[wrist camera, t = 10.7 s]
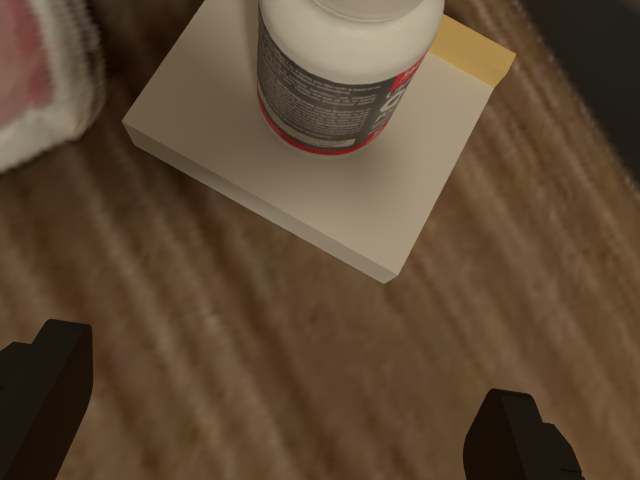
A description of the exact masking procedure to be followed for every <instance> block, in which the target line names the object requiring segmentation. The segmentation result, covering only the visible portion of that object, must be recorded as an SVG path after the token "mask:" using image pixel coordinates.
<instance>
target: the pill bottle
mask: <svg viewBox="0 0 640 480" xmlns="http://www.w3.org/2000/svg"><path fill="white" fill-rule="evenodd" d="M443 10H444V0H258V19H259V23H258V28H259V29H258V48H257V97H258V105H259V109H260V112H261V116H262V118H263V119H264V121H265V123H266V125H267V127H268V128H269V130H270V131H271V132H272V134H273V135H274V136H275V137H276V138H277V139H278V140H279V141H280V142H281V143H282V144H283V145H285V146H286V147H288V148H289V149H291V150H293V151H295V152H296V153H298V154H301V155H304V156H307V157H310V158H315V159H322V160H332V159H340V158H346V157H349V156H352V155H354V154H357V153H359V152H361V151H362V150H364V149H365V148H366V147H368V146H369V145H371V144H372V143H373V142H374V141H375V140H376V139H377V138H378V137H379V135H380V134H381V133H382V131H383V130H384V128H385V126H386V125H387V123H388V122H389V120H390V118H391V117H392V114H393V113H394V111H395V109H396V107H397V105H398V104H399V102H400V100H401V98H402V96H403V94H404V92H405V91H406V89H407V87H408V85H409V84H410V82H411V80H412V78H413V76H414V74H415V73H416V71H417V69H418V68H419V66H420V64H421V62H422V61H423V59H424V57H425V55H426V54H427V52H428V50H429V48H430V47H431V45H432V43H433V41H434V39H435V37H436V34H437V32H438V29H439V27H440V24H441V20H442V17H443Z"/></svg>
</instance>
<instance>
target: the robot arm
mask: <svg viewBox="0 0 640 480" xmlns="http://www.w3.org/2000/svg"><path fill="white" fill-rule="evenodd" d="M92 387H93V347H92V328H91V326H90V325H88V324H81V323H75V322H68V321H62V320H55V319H49V320H47V321H46V322H45V324H44V325H43V327H42V328H41V330H40V331H39V333H38V335H37V336H36V338H35V339H34V341H33V342H32V344H26V343H20V342H12V343H11V344H10V345H8V346H7V347H6V348H4V349H3V350H1V351H0V480H55V479H56V477H57V474H58V472H59V470H60V468H61V466H62V463H63V461H64V459H65V457H66V455H67V452H68V450H69V448H70V446H71V443H72V441H73V439H74V437H75V435H76V432H77V430H78V428H79V426H80V424H81V421H82V419H83V417H84V415H85V412H86V410H87V407H88V404H89V401H90V397H91V393H92ZM463 464H464V470H465V474H466V479H467V480H585V478H584V477H582V475H581V473H582V471H581V468H580V466H579V463H578V461H577V458H576V456H575V453H574V451H573V449H572V447H571V445H570V444H569V443H568V442H567V440H566V439H565V438H564V437H563V435H562V434H561V433H560V432H559V430H558V429H557V428H556V427H555V425H554V424H550V423H544V422H542V419H541V416H540V414H539V411H538V408H537V406H536V403H535V401H534V399H533V397H532V396H531V395H530V394H527V393H521V392H514V391H508V390H501V389H495V388H493V389H491V390H490V391H489V392H488V393H487V395H486V397H485V399H484V401H483V403H482V405H481V407H480V409H479V411H478V413H477V415H476V417H475V419H474V421H473V423H472V425H471V427H470V429H469V431H468V433H467V435H466V438H465V442H464V448H463Z"/></svg>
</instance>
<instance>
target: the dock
mask: <svg viewBox="0 0 640 480" xmlns="http://www.w3.org/2000/svg"><path fill="white" fill-rule="evenodd" d="M258 23H259V19H258V0H205V1H204V2H203V4H202V5H201V7H200V8H199V9H198V11H197V12H196V14H195V15H194V17H193V18H192V20H191V21H190V23H189V24H188V25H187V27H186V28H185V30H184V31H183V33H182V34H181V36H180V37H179V38H178V40H177V41H176V43H175V44H174V46H173V47H172V49H171V50H170V52H169V53H168V54H167V56H166V57H165V59H164V60H163V62H162V63H161V65H160V66H159V67H158V69H157V70H156V72H155V73H154V75H153V76H152V78H151V79H150V80H149V82H148V83H147V85H146V86H145V88H144V89H143V91H142V92H141V94H140V95H139V96H138V98H137V99H136V101H135V102H134V104H133V105H132V107H131V108H130V109H129V111H128V112H127V114H126V115H125V117H124V118H123V120H122V123H123V125H124V127H125V129H126V130H127V132H128V134H129V136H130V138H131V140H132V142H133V143H134V145H135V146H137V147H139V148H141V149H142V150H144V151H146V152H148V153H150V154H151V155H153V156H155V157H157V158H158V159H160V160H162V161H164V162H166V163H167V164H169V165H171V166H173V167H175V168H176V169H178V170H180V171H182V172H184V173H185V174H187V175H189V176H191V177H193V178H194V179H196V180H198V181H200V182H202V183H203V184H205V185H207V186H209V187H211V188H212V189H214V190H216V191H218V192H219V193H221V194H223V195H225V196H227V197H228V198H230V199H232V200H234V201H236V202H237V203H239V204H241V205H243V206H245V207H246V208H248V209H250V210H252V211H254V212H255V213H257V214H259V215H261V216H263V217H264V218H266V219H268V220H270V221H272V222H273V223H275V224H277V225H279V226H280V227H282V228H284V229H286V230H288V231H289V232H291V233H293V234H295V235H297V236H298V237H300V238H302V239H304V240H306V241H307V242H309V243H311V244H313V245H315V246H316V247H318V248H320V249H322V250H324V251H325V252H327V253H329V254H331V255H333V256H334V257H336V258H338V259H340V260H341V261H343V262H345V263H347V264H349V265H350V266H352V267H354V268H356V269H358V270H359V271H361V272H363V273H365V274H367V275H368V276H370V277H372V278H374V279H376V280H377V281H379V282H381V283H383V284H384V283H386V282H388V281H389V280H391V279H393V278H394V277H396V276H398V274H399V272H400V270H401V268H402V266H403V265H404V263H405V261H406V259H407V257H408V255H409V253H410V251H411V249H412V247H413V245H414V243H415V241H416V239H417V237H418V235H419V233H420V231H421V229H422V227H423V226H424V224H425V222H426V220H427V218H428V216H429V214H430V212H431V210H432V208H433V206H434V204H435V202H436V200H437V198H438V196H439V194H440V192H441V190H442V188H443V187H444V185H445V183H446V181H447V179H448V177H449V175H450V173H451V171H452V169H453V167H454V165H455V163H456V161H457V159H458V157H459V155H460V153H461V151H462V149H463V148H464V146H465V144H466V142H467V140H468V138H469V136H470V134H471V132H472V130H473V128H474V126H475V124H476V122H477V120H478V118H479V116H480V114H481V112H482V110H483V109H484V107H485V105H486V103H487V101H488V99H489V97H490V95H491V93H492V91H493V89H494V87H495V86H496V85H497V84H498V83H499V82H500V81H501V79H502V78H503V77H504V76H505V75H506V74H507V72H508V70H509V68H510V66H511V64H512V62H513V60H514V58H515V56H516V54H515V53H513V52H511V51H509V50H508V49H506V48H504V47H502V46H500V45H499V44H497V43H495V42H493V41H491V40H490V39H488V38H486V37H484V36H482V35H481V34H479V33H477V32H475V31H473V30H472V29H470V28H468V27H466V26H464V25H463V24H461V23H459V22H457V21H455V20H454V19H452V18H450V17H448V16H446V15H445V14H443V17H442V20H441V24H440V27H439V29H438V32H437V34H436V37H435V39H434V41H433V43H432V45H431V47H430V48H429V50H428V52H427V54H426V55H425V57H424V59H423V61H422V62H421V64H420V66H419V68H418V69H417V71H416V73H415V74H414V76H413V78H412V80H411V82H410V84H409V85H408V87H407V89H406V91H405V92H404V94H403V96H402V98H401V100H400V102H399V104H398V105H397V107H396V109H395V111H394V113H393V114H392V117H391V118H390V120H389V122H388V123H387V125H386V126H385V128H384V130H383V131H382V133H381V134H380V135H379V137H378V138H377V139H376V140H375V141H374V142H373V143H372V144H371V145H369V146H368V147H366V148H365V149H364V150H362V151H361V152H359V153H357V154H354V155H352V156H349V157H346V158H340V159H332V160H322V159H315V158H310V157H307V156H304V155H301V154H298V153H296V152H295V151H293V150H291V149H289V148H288V147H286V146H285V145H283V144H282V143H281V142H280V141H279V140H278V139H277V138H276V137H275V136H274V135H273V134H272V132H271V131H270V130H269V128H268V127H267V125H266V123H265V121H264V119H263V118H262V116H261V112H260V109H259V105H258V97H257V48H258V29H259V28H258Z"/></svg>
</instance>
